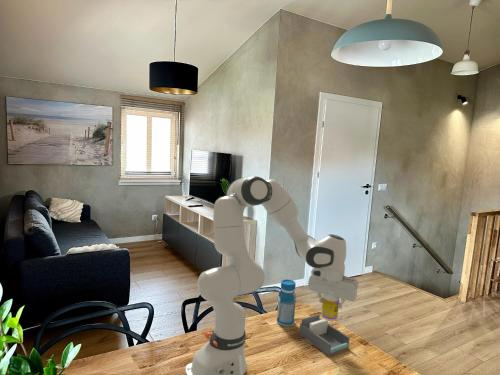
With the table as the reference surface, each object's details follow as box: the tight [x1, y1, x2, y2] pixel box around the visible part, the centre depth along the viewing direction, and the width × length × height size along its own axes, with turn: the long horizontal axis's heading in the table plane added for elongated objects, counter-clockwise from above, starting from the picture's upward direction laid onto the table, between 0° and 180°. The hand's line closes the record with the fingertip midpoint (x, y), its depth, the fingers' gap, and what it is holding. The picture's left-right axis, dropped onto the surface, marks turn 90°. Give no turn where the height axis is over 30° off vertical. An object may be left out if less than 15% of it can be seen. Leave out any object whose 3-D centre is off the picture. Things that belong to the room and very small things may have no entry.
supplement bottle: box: [320, 289, 340, 322], centre depth 142 cm, size 7×7×13 cm
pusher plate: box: [309, 318, 329, 335], centre depth 149 cm, size 9×2×6 cm, turn 123°
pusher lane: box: [299, 313, 350, 357], centre depth 146 cm, size 12×18×7 cm, turn 33°
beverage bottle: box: [276, 279, 297, 327], centre depth 159 cm, size 8×8×20 cm
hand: (330, 305), depth 142 cm, fingers closed on supplement bottle, 7 cm apart
